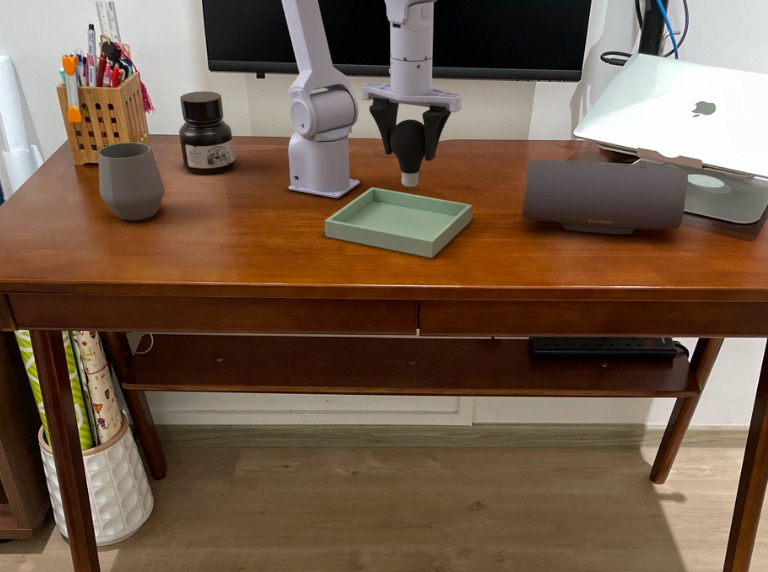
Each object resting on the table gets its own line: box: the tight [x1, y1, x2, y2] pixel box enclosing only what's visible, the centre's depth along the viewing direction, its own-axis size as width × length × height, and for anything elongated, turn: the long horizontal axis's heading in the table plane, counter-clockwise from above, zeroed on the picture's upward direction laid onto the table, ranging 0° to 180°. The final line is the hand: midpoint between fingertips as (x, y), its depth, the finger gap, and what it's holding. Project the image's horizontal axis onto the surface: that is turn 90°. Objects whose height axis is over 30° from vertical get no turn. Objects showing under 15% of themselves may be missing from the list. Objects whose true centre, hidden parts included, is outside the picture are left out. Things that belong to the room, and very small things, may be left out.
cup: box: [97, 141, 165, 222], centre depth 125 cm, size 10×9×10 cm
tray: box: [324, 187, 473, 259], centre depth 124 cm, size 17×15×2 cm
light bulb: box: [390, 119, 425, 190], centre depth 120 cm, size 6×6×10 cm
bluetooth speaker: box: [522, 159, 689, 235], centre depth 123 cm, size 23×9×10 cm, turn 80°
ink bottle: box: [178, 90, 236, 175], centre depth 143 cm, size 10×9×12 cm
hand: (410, 155), depth 120 cm, fingers closed on light bulb, 6 cm apart
